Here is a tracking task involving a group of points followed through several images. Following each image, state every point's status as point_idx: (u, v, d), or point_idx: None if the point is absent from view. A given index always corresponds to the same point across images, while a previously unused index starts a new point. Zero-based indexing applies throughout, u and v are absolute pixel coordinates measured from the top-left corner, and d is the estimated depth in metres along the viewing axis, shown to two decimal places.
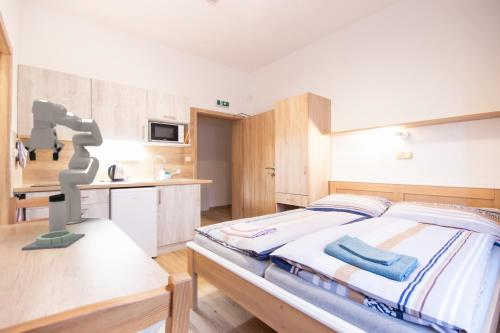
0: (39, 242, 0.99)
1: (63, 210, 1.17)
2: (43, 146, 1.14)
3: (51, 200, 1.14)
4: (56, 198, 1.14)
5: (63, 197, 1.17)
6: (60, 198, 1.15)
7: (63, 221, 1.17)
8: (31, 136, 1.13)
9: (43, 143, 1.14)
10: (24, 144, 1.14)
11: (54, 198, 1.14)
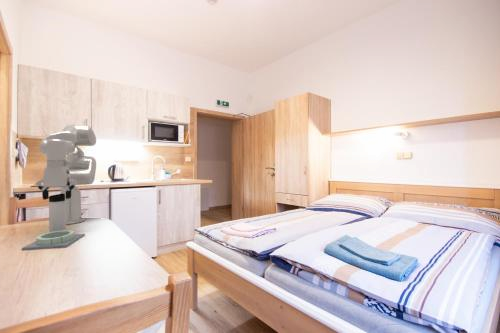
0: (39, 242, 0.99)
1: (63, 210, 1.17)
2: (56, 185, 1.14)
3: (51, 200, 1.14)
4: (56, 198, 1.14)
5: (63, 197, 1.17)
6: (60, 198, 1.15)
7: (63, 221, 1.17)
8: (44, 175, 1.13)
9: (56, 182, 1.14)
10: (37, 183, 1.14)
11: (54, 198, 1.14)
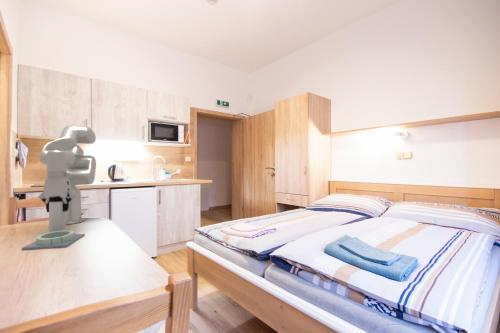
0: (39, 242, 0.99)
1: None
2: (57, 196, 1.15)
3: (51, 200, 1.14)
4: (56, 198, 1.14)
5: None
6: (60, 198, 1.15)
7: (63, 221, 1.17)
8: (45, 187, 1.14)
9: (57, 193, 1.15)
10: (40, 196, 1.15)
11: (54, 198, 1.14)
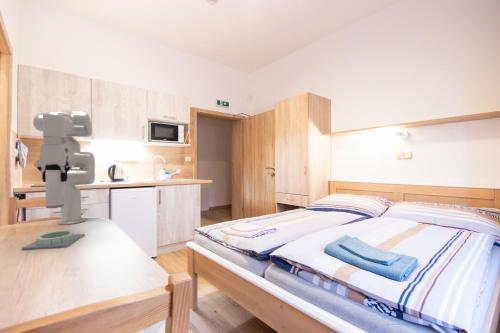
0: (39, 242, 0.99)
1: None
2: (54, 164, 1.03)
3: (48, 168, 1.02)
4: (53, 166, 1.02)
5: None
6: (58, 166, 1.03)
7: (61, 192, 1.05)
8: (41, 153, 1.02)
9: (54, 161, 1.03)
10: (35, 164, 1.03)
11: (51, 166, 1.02)
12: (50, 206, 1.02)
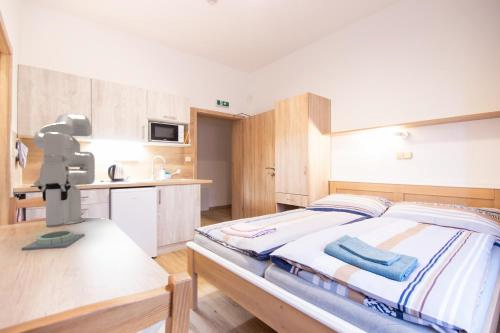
0: (39, 242, 0.99)
1: None
2: (54, 183, 1.03)
3: (48, 187, 1.02)
4: (54, 185, 1.02)
5: None
6: (58, 185, 1.03)
7: (61, 211, 1.05)
8: (41, 172, 1.02)
9: (54, 180, 1.03)
10: (36, 183, 1.03)
11: (51, 185, 1.02)
12: (50, 225, 1.02)
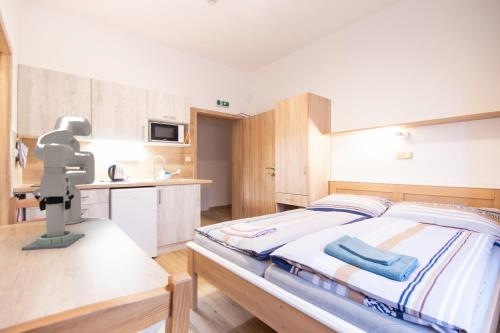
0: (39, 242, 0.99)
1: (62, 213, 1.05)
2: (54, 194, 1.03)
3: (48, 202, 1.02)
4: (54, 200, 1.02)
5: (62, 199, 1.05)
6: (58, 200, 1.03)
7: (62, 225, 1.05)
8: (41, 184, 1.02)
9: (54, 191, 1.03)
10: (34, 193, 1.03)
11: (52, 200, 1.02)
12: None
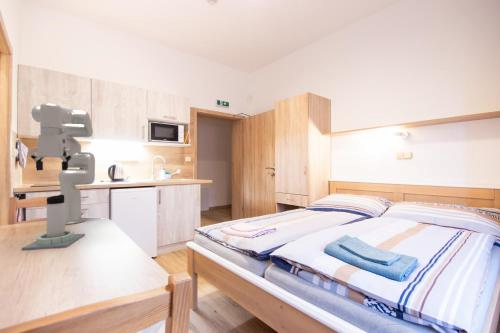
0: (39, 242, 0.99)
1: (62, 213, 1.05)
2: (51, 155, 1.04)
3: (49, 202, 1.02)
4: (55, 200, 1.03)
5: (62, 199, 1.06)
6: (59, 200, 1.04)
7: (62, 225, 1.05)
8: (38, 144, 1.03)
9: (51, 151, 1.04)
10: (30, 152, 1.04)
11: (52, 200, 1.02)
12: None
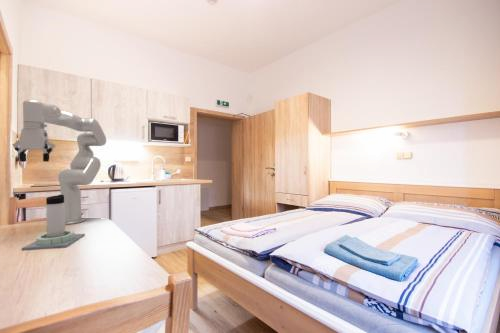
0: (39, 242, 0.99)
1: (62, 213, 1.05)
2: (33, 147, 1.13)
3: (49, 202, 1.02)
4: (54, 200, 1.03)
5: (62, 199, 1.05)
6: (59, 200, 1.04)
7: (62, 225, 1.05)
8: (21, 137, 1.12)
9: (33, 144, 1.13)
10: (14, 145, 1.13)
11: (52, 200, 1.02)
12: None
